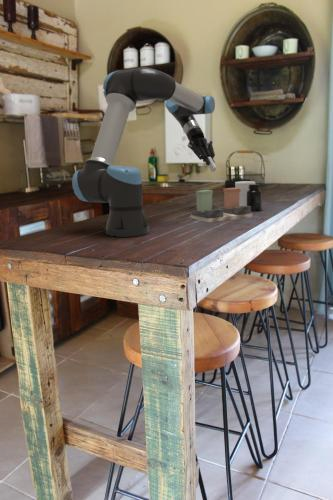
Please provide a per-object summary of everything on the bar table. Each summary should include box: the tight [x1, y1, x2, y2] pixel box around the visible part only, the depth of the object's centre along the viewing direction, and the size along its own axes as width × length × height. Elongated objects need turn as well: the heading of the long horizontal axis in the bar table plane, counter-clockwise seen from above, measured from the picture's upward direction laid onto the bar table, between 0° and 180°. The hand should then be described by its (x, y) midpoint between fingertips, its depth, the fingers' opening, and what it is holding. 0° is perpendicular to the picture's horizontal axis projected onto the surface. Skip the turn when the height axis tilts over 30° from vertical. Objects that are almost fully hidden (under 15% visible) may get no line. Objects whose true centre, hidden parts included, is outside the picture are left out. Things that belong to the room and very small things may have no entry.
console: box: [189, 206, 254, 223], centre depth 181 cm, size 22×14×4 cm, turn 118°
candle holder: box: [234, 180, 257, 206], centre depth 211 cm, size 10×10×12 cm
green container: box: [194, 189, 214, 212], centre depth 179 cm, size 6×5×10 cm
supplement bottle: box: [247, 183, 263, 212], centre depth 198 cm, size 7×7×12 cm
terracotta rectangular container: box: [222, 187, 241, 209], centre depth 185 cm, size 6×5×10 cm
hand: (214, 169), depth 194 cm, fingers closed
